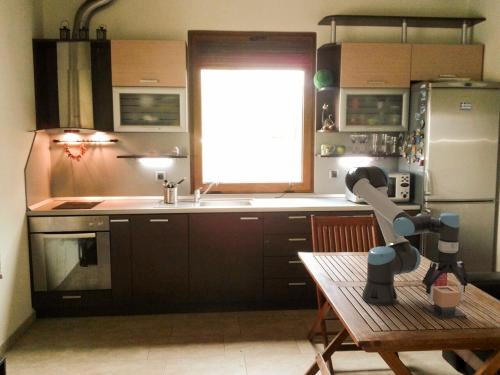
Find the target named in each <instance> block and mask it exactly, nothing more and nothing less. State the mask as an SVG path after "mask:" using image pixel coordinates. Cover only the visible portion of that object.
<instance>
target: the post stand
mask: <svg viewBox="0 0 500 375" xmlns="http://www.w3.org/2000/svg"><path fill="white" fill-rule="evenodd" d="M440 290H442V291H443V292H450V290H448V289H440ZM433 303H434V302H433ZM423 309H425V311H427V312H428V313H430V314H432V316H434V317H436V318H437V319H438V318H439V319H438V320H442V319H441V318H448V319H459V318H458V317H466V318H467V314H466V313H463V312H462V311H461V310H459V309H458V308H457V307H440V306H439V305H437V304H436V303H434V304H429V305H428V304H427V305H426V304H423Z"/></svg>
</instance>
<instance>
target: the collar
mask: <svg viewBox="0 0 500 375" xmlns="http://www.w3.org/2000/svg"><path fill="white" fill-rule="evenodd" d="M440 289H448V290H450V292H443V291H442V290H440ZM460 293H461V292H459V291H458V289H455V288H454V287H452V286H450V285H447V286H435V287H433V301H432V303H436V304H437V305H439V306H440V307H456V308H457V307H458V308H459V307H460V306H461V301H460Z"/></svg>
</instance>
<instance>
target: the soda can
mask: <svg viewBox="0 0 500 375" xmlns="http://www.w3.org/2000/svg"><path fill="white" fill-rule="evenodd" d="M437 268H438V266H437ZM437 268H436V269H437ZM436 269H435V271H434V273H435V272H436ZM434 273H433V274H434ZM432 286H433V287H435V286H448V273H443V274H442V275H440V277H439V278H438V279H437V280H436V281H435V282H434V284H433V285H432Z"/></svg>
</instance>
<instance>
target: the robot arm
mask: <svg viewBox="0 0 500 375" xmlns="http://www.w3.org/2000/svg"><path fill="white" fill-rule="evenodd" d="M389 182H390V176H389V174H388V172H387V170H386V169H385V168H384V167H381V166H375V165H371V166H355V167H353V168H351V169H349V170H348V171H347V173H346V174H345V177H344V184H345V186H346V188H347V190H348V191H349V192H350V193H351V194H353V195H354V196H355V197H359V198H360V199H362V200H363V201H364V202H365V203H366V204H368V205H369V206H370V207H371V208H372V209H373V212H374V215H375V217H376V220H377V223H378V225H379V228H380V230H381V233H382V236H383V238H384V241H385V246H376V247H372V248H370V249H369V251H368V253H367V259H366V261H367V270H366V271H367V272H366V284H365V286H364V288H363V290H362V292H361V293H362V295H361V297H362V300H363V301H364V302H366V303H368V304H370V305H374V306H385V307H387V306H388V307H389V306H394V305H396V304H397V303H398V295H397V291H396V288H395V287H396V286H395V285H394V284H395V276H399V275H403V274H410V273H412V272H414V271H417V270H418V269H419V267H420V264H421V259H422V258H421V252H420V251H419V249H418V248H416V247H415V246H412V245H411V242H410V241H409V240H408V239H406V238H405V237H408V236H414V235H422V234H427V233H428V234H429V233H430V234H435V235H438V247H437V248H438V251H437V262H433V261H430V264H429V268H428V269H427V271H426V274H425V275H424V276H423V279H422V281H421V283H422V284H423V285H424V286H425V289H426V290H425V293H426V294H427V296H426V297H427V298H426V299H427V301H428V302H430V303H433V286H432V285H433V284H434V282H435V281H436V280H437V279H438V278H439V277H440V275H442V274H443V273H447V274H453V275H454V277H455V278H456V280H457V281H458V282H459V283H458V284H457V291H459V292H461V293H460V302H463V301H464V293H465V292H466V287H467V286H468V284H469V285H470V284H471V281H470V277H469V275H468V273H467V271H466V268H465V262H463V261H461V260H459V261H458V258H459V257H458V256H459V253H458V251H459V242H460V241H459V238H460V228H461V224H460V223H461V217H460V215H459V214H457V213H453V212H452V213H451V212H443V213H440V216H438V215H432V214H428V213H418V214H416V215H415V216H414V215H413V216H411V215H410V214H408V212H406V211H404V210H403V209H402V208H400V207H399V206H398V205H397V204H396V203H395V202H393V201H392V200H391V199H390V198H389V196H388V193H387V192H388V190H389ZM437 266H438V268H437ZM436 268H437V269H436ZM457 268H458V270H459V271H458V270H457ZM435 269H436V272H435V273H434V271H435ZM459 272H460V274H459ZM433 273H434V274H433Z"/></svg>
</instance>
